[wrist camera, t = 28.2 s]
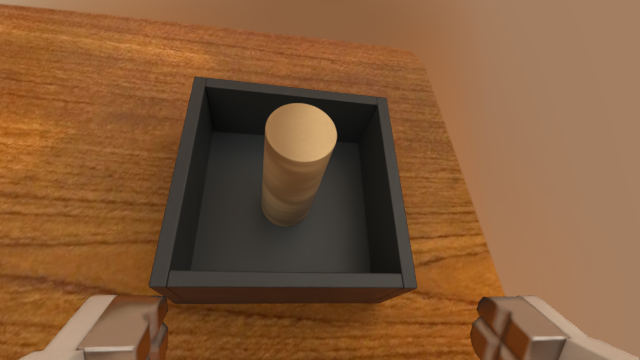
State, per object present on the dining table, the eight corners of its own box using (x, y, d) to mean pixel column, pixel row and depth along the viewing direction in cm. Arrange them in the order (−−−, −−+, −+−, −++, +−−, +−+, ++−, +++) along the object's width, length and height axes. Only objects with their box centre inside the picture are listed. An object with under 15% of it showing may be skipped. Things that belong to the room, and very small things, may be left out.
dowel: (309, 183, 25) (335, 106, 17) (310, 227, 23) (338, 164, 15) (262, 180, 24) (267, 99, 16) (259, 225, 22) (262, 158, 15)
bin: (362, 143, 29) (386, 97, 24) (379, 303, 22) (417, 288, 17) (206, 129, 27) (194, 75, 21) (175, 303, 20) (147, 286, 15)
